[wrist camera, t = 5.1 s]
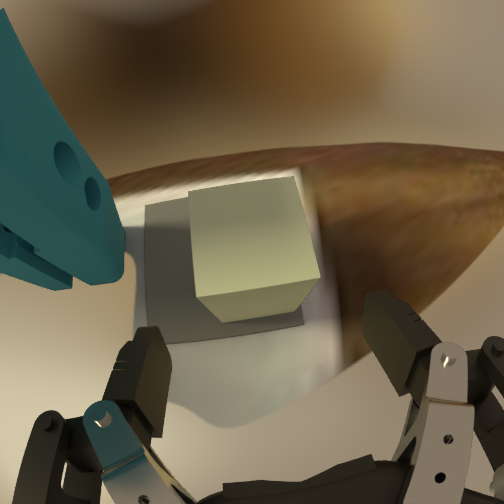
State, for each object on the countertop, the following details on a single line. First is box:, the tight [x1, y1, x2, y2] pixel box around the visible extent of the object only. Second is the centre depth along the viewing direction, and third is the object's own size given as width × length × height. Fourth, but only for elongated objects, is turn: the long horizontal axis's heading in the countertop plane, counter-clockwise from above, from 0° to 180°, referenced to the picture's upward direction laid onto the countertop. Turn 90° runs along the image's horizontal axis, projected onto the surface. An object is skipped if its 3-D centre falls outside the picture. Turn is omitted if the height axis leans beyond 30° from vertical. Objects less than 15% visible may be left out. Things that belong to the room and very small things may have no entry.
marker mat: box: [144, 197, 304, 344], centre depth 21 cm, size 11×12×1 cm
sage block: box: [188, 176, 321, 323], centre depth 16 cm, size 5×5×8 cm
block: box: [0, 8, 125, 291], centre depth 12 cm, size 12×5×20 cm, turn 99°
